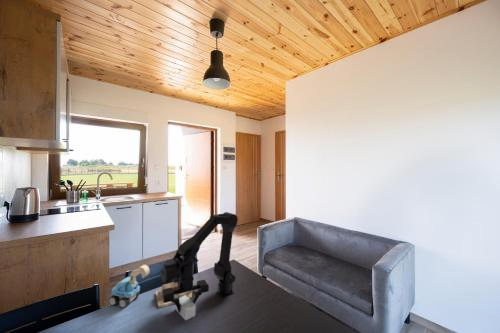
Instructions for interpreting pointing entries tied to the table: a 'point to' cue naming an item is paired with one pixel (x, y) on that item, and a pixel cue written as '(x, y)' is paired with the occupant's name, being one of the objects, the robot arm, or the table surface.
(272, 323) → the table surface
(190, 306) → the light grey rectangular block
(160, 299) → the jig
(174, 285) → the tan rectangular bar
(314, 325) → the table surface
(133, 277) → the toy excavator
